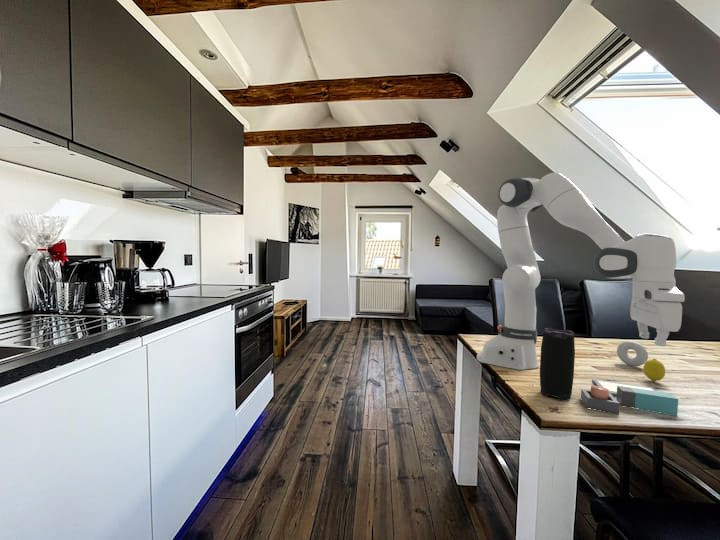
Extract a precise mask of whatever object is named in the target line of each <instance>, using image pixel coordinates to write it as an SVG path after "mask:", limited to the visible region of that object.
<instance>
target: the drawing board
mask: <svg viewBox="0 0 720 540" xmlns="http://www.w3.org/2000/svg"><path fill="white" fill-rule="evenodd" d="M591 382H592V383H593V384H594V386H600V387H604V388H606V389H608V390H609V393H611V394H612V396H613V397H617V386H623V387H630V388H636V389H643V390H650V391H657V392H659V391H658V390H656V388H654V387H651V386H645V385H637V384H630V383H623V382H616V381H609V380H602V379H596V378H592V380H591Z"/></svg>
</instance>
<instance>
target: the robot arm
mask: <svg viewBox="0 0 720 540" xmlns="http://www.w3.org/2000/svg"><path fill="white" fill-rule="evenodd" d="M498 200H499V202H500V203H501V204H502V205H501V206H500V207H499V208H498V210H497V213H496V214H497V215H496V217H497V218H496V223H497V232H498V233H497V234H498V237H499V243H500V248H501V254H502V255H503V257H504V260H505V264H506V266H507V268H506V269H505V270H504V271H503V274H502V277H501V279H502V281H501V282H502V284H503V285H502V286H503V287H502V288H503V298H504V325H501V324H499V325H498V324H497V325H498V326H497V330H498V335H495V336H494V337H492V338H490V339H489V340H487V341H486V342H485V343H484V345H483V348H482V351H480V352H477V355H476V360H477V361H478V362H479V363H482V364H489V365H493V366H498V367H502V368H508V369H513V370H519V371H525V370H532V369H538V368H540V364H539V362H538V356H537V348H536V344H537V341H538V330H537V311H538V310H537V303H536V301H537V300H536V289H537V287H539V285H540V283H541V281H542V280H541V278H542V277H541V273H540V269H539V264H538V261H537V257H536V255H535V251H534V248H533V243H532V242H533V241H532V238H531V233H530V227H529V223H528V214H529V212H531V213H532V212H535V211H537V210H538V209H540V208H541V207H544V208H545V210H546V211H547V212H548V213H549V215H550V216H551V217H552V218H553V219H554V220H556V221H557V222H558V223H559V224H561V225H563V226H565V227H568V228H571V229H573V230H576V231H579V232H581V233H583V234H585V235H587V236H588V237H589V238H591V240H592V241H593V242H594V243H595V244H596V245H597V246H598V247H599V249H601V250H599V251H598V252H597V253H595V254H594V257H593V260H592V265H593V269H594V271H595V272H596V273H597V274H598V275H600V276H601V277H604V278H607V279H613V280H615V279H617V280H620V279H621V280H632V292H631V293H632V294H631V297H632V298H631V301H630V311H629V312H630V313H629V314H630V315H629V316H630V318H631V320H633V321H636V322H637V323H636V324H637V329H638V332H639V335H638V336H639V337H640V338H641V339H647V340H648V339H649V338H650V332H649V328H648V326H649V327H651V328H653V329H656V330H655V331H656V333H657V334H656V337H654V344H655V345H656V346H658V347H666V346H667V345H666V344H667V339H668V337H669V335H670V332H671V333H672V332H674V333H675V332H676V333H677V332H679V331H680V329H681V326H682V320H683V319H682V317H683V305H682V303H684V302H685V298H686V297H685V293H683V292H682V291H681V290H679V288H678V287H677V286H676V283H677V282H676V277H675V269H676V267H677V251H676V243H675V241H674V239H672V238H671V237H670V236H669V235H663V234H654V233H638V234H637V235H635V236H634V237H633V238H631V239H629V240H625V239H624V238H623V237H622V236H621V235H620V234H619V233H618V232H617V231H616V230H615V229H614V228H613V227H612V226H611V225H610V224H609V223H608V222H607V221H606V220H605V219H604V218H603V217H602V216H601V214H600V213H599V212H598V211H597V209H596V208H595V207H594V206H593V204H592V203H591V201H590V200H589V199H588V198H587V197H586V195H585V194H584V193H583V192H582V191H581V189H580V188H579V187H577V185H575V184H574V182H572V181H571V180H570V179H569V178H568V177H566V176H564V175H563V174H561V173H560V172H550V173H546V174H545V175H544V176H543V177H541V178H534V177H521V178H520V177H513V178H508V179H507V180H505V181H503V182H502V184H501V185H500V187H499V188H498Z"/></svg>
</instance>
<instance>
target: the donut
mask: <svg viewBox="0 0 720 540" xmlns="http://www.w3.org/2000/svg"><path fill="white" fill-rule="evenodd" d="M629 350H633V351H634V352H635V353H636V356H635V357H631V356H630V355H629V354H628V352H629ZM616 354H617V356H618V359H619V360H621V362H622V363H624V364H625V365H627V366H631V367H640V366H642V365H643V366H644V364H645V363H646V361H648V360H649V359H648V358H649V354H648V350H647V349H646V348H645V347H644V345H643V344H641V343H639V342H638V341H634V340H624V341H622V342H621V343H620V344H618V346H617V349H616Z"/></svg>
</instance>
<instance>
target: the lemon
mask: <svg viewBox="0 0 720 540" xmlns="http://www.w3.org/2000/svg"><path fill="white" fill-rule="evenodd" d="M643 373H644V375H645V376H646V378H648V379H649V380H650V381H651V382H653V383H654V382H657V381H661V380H663V379H664V377H665V375H666V368H665V365H664V364H663V363H662V362H661V361H660V360H657V358H653V359H647V361H646V362H645V364H643Z"/></svg>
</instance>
